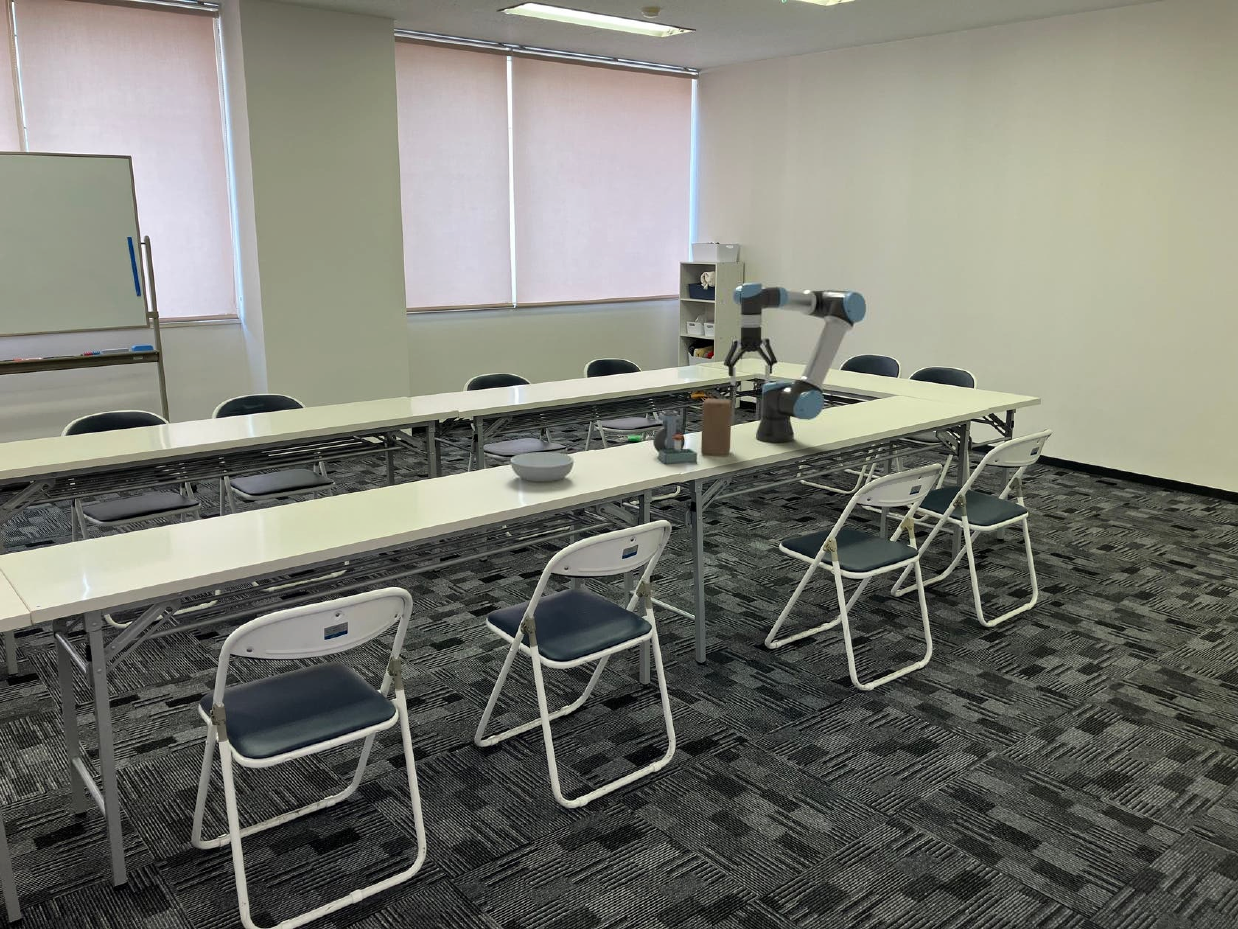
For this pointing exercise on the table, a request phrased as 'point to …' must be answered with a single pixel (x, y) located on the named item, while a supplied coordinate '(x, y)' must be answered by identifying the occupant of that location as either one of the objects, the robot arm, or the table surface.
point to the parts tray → (677, 456)
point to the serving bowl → (542, 466)
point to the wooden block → (716, 427)
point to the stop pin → (677, 443)
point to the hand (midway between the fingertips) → (750, 383)
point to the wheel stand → (667, 431)
